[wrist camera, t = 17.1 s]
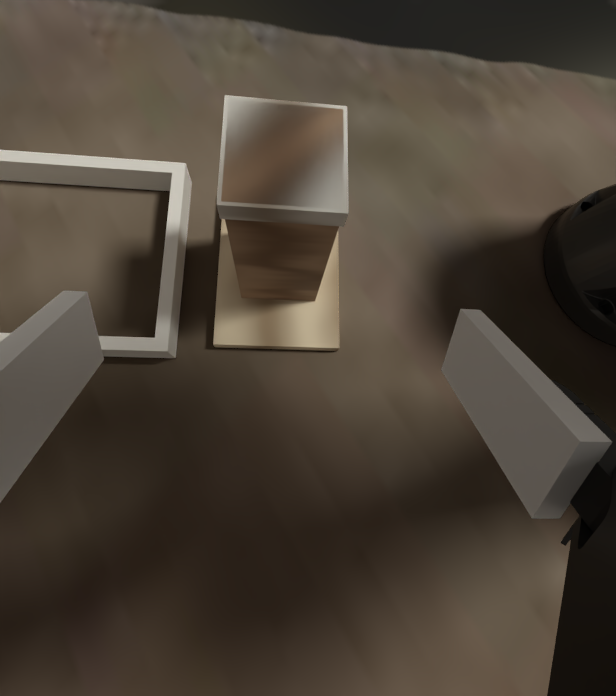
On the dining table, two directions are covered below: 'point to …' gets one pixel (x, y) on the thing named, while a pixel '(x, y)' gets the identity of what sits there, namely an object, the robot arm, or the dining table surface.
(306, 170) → the canister
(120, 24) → the dining table surface
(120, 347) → the white rectangular frame
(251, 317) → the board
